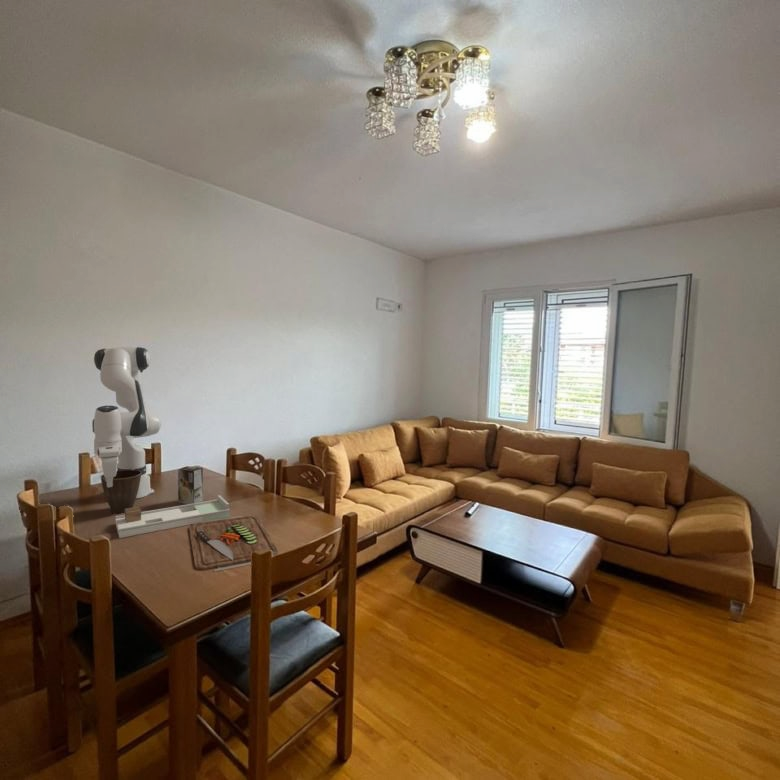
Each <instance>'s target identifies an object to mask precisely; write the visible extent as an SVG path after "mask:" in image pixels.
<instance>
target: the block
mask: <svg viewBox="0 0 780 780" xmlns="http://www.w3.org/2000/svg"><path fill="white" fill-rule="evenodd" d="M141 512H142V510H141V508H140V506H136V507H134V506H133V507H132V508H128V509H125V512H124V515H125V520H126V523H128V522H134V521H139V520H141Z"/></svg>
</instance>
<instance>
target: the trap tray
mask: <svg viewBox="0 0 780 780" xmlns="http://www.w3.org/2000/svg"><path fill="white" fill-rule="evenodd" d="M230 516H231V509H230V503H229V502H228V501H227V500H225V498H223V496H222V495H220V494H218V495H217V499H212V500H206V501H202V502H199V503H193V504H183V505H181V504H180V505H177V506H176V505H175V506H170V507H164V508H158V509H152V510H145V511H141V520H139V521H134V522H128V523H126V520H125V514H121V515H116V516H115V527H116V530H117V535H118V538H119V539H121V538H127V537H132V536H137V535H142V534H149V533H152V532H154V533H155V532H158V531H163V530H169V529H175V528H179V527H183V526H185V527H186V526H191V525H193V524H196V523H202V522H203V521H209V520H216V519H223V518H230Z"/></svg>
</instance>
